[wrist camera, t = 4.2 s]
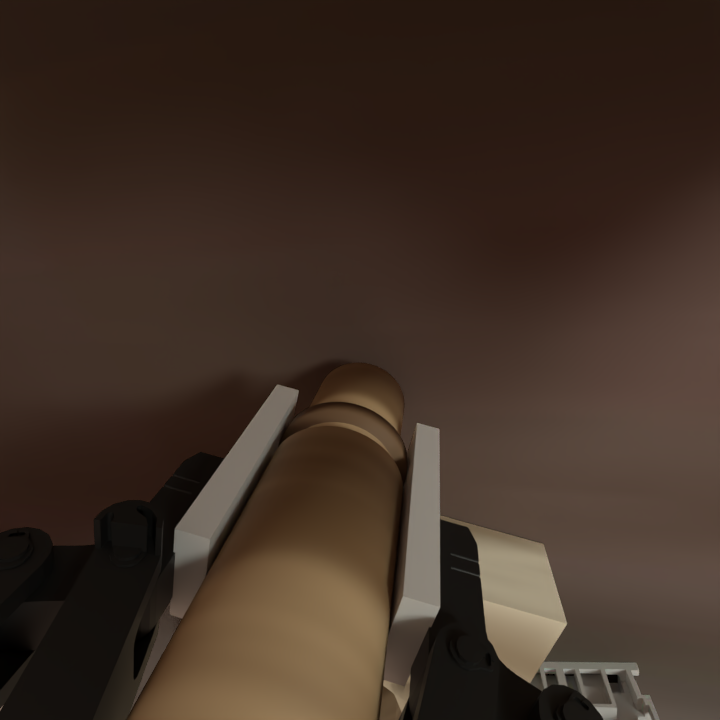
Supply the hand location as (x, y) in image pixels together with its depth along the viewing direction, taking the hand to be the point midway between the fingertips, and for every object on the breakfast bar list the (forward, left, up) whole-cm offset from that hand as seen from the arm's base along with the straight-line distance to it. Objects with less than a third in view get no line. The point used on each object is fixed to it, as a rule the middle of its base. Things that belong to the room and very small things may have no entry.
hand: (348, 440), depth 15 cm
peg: (0, 0, -3) cm, 3 cm away
